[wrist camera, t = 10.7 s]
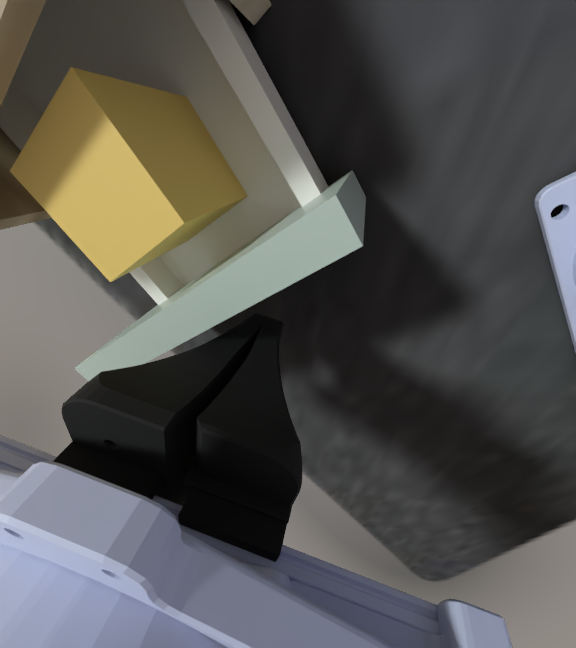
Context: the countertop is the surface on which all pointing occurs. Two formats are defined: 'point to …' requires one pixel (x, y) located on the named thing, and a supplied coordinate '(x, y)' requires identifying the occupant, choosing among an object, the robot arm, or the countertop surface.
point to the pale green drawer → (230, 137)
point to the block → (125, 170)
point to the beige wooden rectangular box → (3, 59)
